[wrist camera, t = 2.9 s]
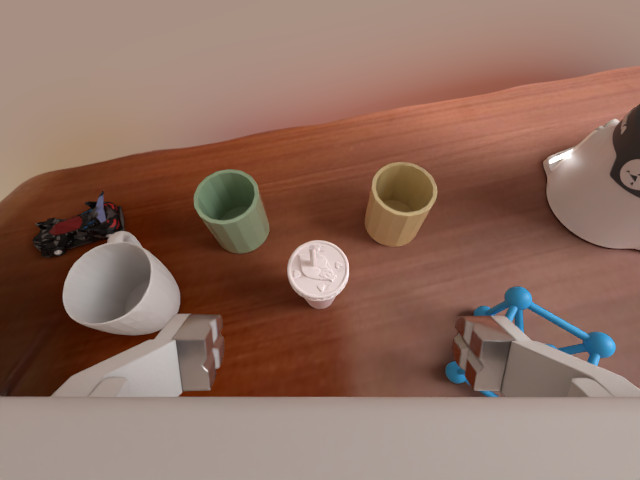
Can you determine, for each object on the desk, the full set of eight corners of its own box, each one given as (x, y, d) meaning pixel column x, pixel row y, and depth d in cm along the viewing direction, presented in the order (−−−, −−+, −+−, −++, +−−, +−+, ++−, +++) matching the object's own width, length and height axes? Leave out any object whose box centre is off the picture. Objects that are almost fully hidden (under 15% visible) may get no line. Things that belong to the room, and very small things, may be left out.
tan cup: (395, 190, 49) (407, 152, 41) (430, 228, 46) (450, 194, 38) (353, 216, 47) (358, 181, 39) (387, 257, 44) (400, 227, 36)
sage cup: (253, 197, 49) (239, 159, 41) (279, 234, 46) (270, 202, 38) (206, 223, 47) (183, 188, 39) (231, 264, 44) (211, 235, 36)
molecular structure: (524, 433, 35) (593, 446, 26) (439, 375, 38) (474, 368, 29) (555, 353, 38) (625, 339, 29) (475, 304, 41) (516, 278, 32)
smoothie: (314, 262, 44) (310, 207, 31) (354, 289, 42) (366, 243, 30) (284, 300, 42) (266, 257, 29) (325, 330, 40) (324, 299, 27)
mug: (197, 326, 41) (159, 305, 32) (123, 354, 39) (62, 341, 30) (177, 240, 46) (141, 201, 37) (111, 262, 45) (57, 228, 36)
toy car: (127, 236, 46) (110, 222, 42) (37, 266, 44) (11, 254, 41) (122, 202, 49) (105, 186, 45) (36, 229, 47) (12, 215, 43)
